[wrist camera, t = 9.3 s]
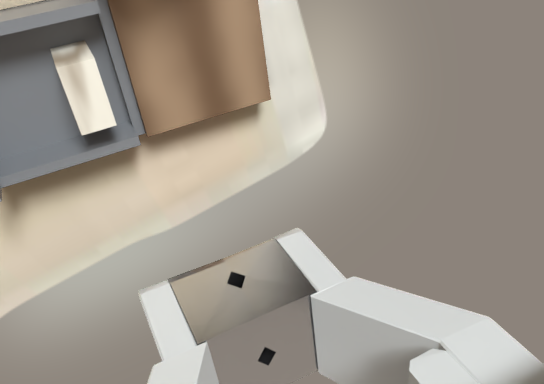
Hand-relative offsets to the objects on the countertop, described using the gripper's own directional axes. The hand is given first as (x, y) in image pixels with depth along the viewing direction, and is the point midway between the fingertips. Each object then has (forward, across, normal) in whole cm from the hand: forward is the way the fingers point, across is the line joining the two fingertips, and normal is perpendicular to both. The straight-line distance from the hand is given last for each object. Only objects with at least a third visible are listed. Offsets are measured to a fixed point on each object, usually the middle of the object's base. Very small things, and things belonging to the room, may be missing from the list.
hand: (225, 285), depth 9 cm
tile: (+31, -1, +6) cm, 32 cm away
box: (+35, +3, +6) cm, 35 cm away
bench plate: (+34, -9, +6) cm, 36 cm away
